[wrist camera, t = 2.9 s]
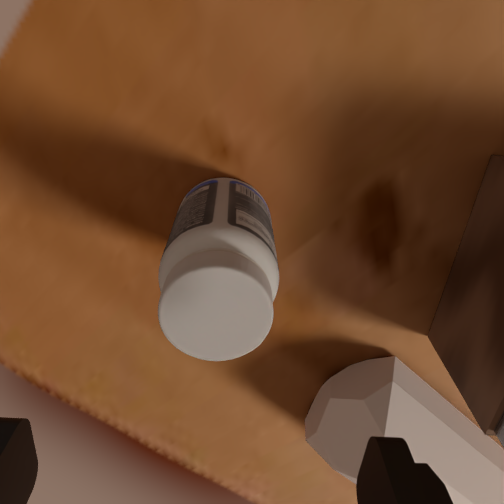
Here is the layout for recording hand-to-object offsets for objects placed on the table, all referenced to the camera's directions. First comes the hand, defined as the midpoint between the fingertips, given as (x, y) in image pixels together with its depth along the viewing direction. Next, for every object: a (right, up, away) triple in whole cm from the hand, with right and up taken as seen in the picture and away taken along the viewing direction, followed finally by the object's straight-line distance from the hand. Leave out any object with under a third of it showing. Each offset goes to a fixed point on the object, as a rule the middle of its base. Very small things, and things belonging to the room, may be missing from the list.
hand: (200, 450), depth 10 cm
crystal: (+14, -9, +21) cm, 27 cm away
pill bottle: (0, +7, +12) cm, 14 cm away
